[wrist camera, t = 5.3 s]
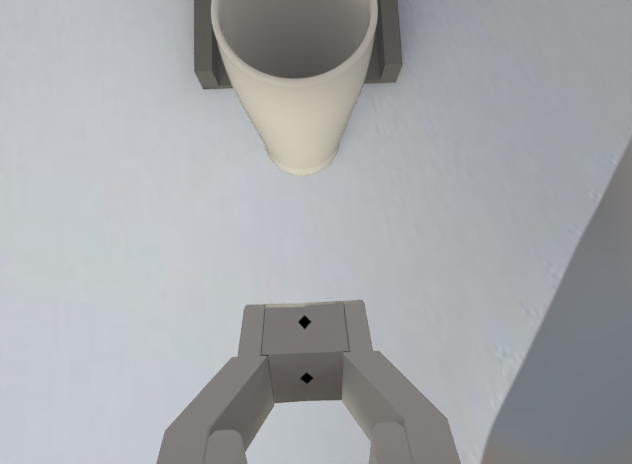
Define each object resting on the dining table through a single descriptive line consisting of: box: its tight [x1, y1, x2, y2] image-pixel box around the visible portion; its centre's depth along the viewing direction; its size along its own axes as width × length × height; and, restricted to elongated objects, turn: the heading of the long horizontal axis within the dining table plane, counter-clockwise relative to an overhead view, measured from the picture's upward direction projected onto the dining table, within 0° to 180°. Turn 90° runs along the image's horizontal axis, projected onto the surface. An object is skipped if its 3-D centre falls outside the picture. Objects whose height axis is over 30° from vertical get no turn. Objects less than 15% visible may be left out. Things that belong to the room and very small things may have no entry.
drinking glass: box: [211, 0, 378, 176], centre depth 24 cm, size 7×7×15 cm
